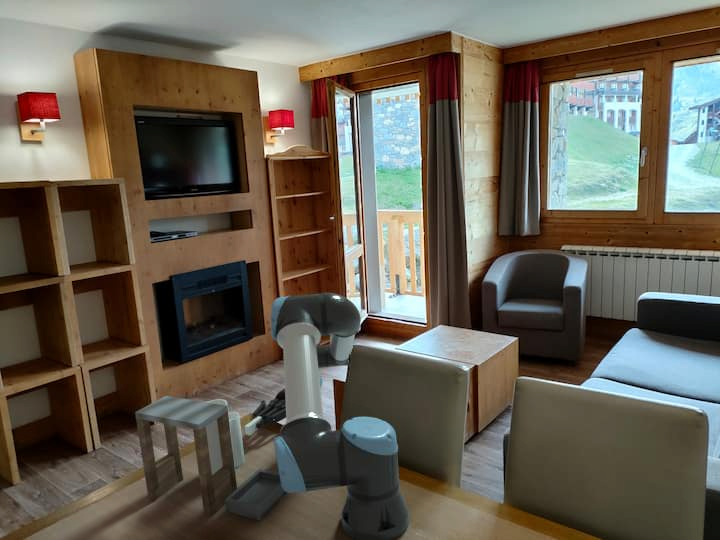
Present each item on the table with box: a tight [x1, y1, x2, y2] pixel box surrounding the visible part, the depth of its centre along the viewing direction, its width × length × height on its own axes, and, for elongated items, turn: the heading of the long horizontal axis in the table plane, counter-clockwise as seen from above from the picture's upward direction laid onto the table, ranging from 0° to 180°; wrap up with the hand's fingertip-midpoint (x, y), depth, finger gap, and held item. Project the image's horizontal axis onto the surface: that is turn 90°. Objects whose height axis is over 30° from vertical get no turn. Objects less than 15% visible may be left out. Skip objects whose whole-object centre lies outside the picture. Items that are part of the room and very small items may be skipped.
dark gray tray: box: [224, 468, 288, 521], centre depth 129 cm, size 10×14×3 cm
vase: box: [206, 398, 245, 475], centre depth 142 cm, size 11×7×20 cm, turn 167°
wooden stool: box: [134, 395, 238, 518], centre depth 130 cm, size 20×10×24 cm, turn 65°
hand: (247, 430), depth 152 cm, fingers closed
